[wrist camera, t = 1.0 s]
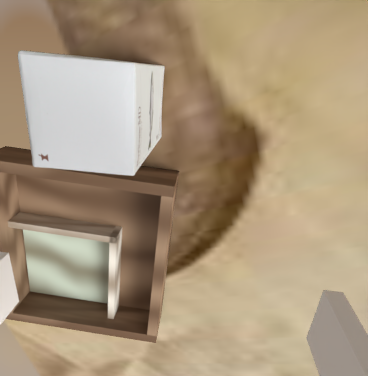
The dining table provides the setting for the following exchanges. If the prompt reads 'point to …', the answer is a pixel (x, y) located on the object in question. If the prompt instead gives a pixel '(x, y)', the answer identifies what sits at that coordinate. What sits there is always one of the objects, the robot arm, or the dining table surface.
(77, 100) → the supplement box
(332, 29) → the dining table surface
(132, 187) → the crate
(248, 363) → the dining table surface
